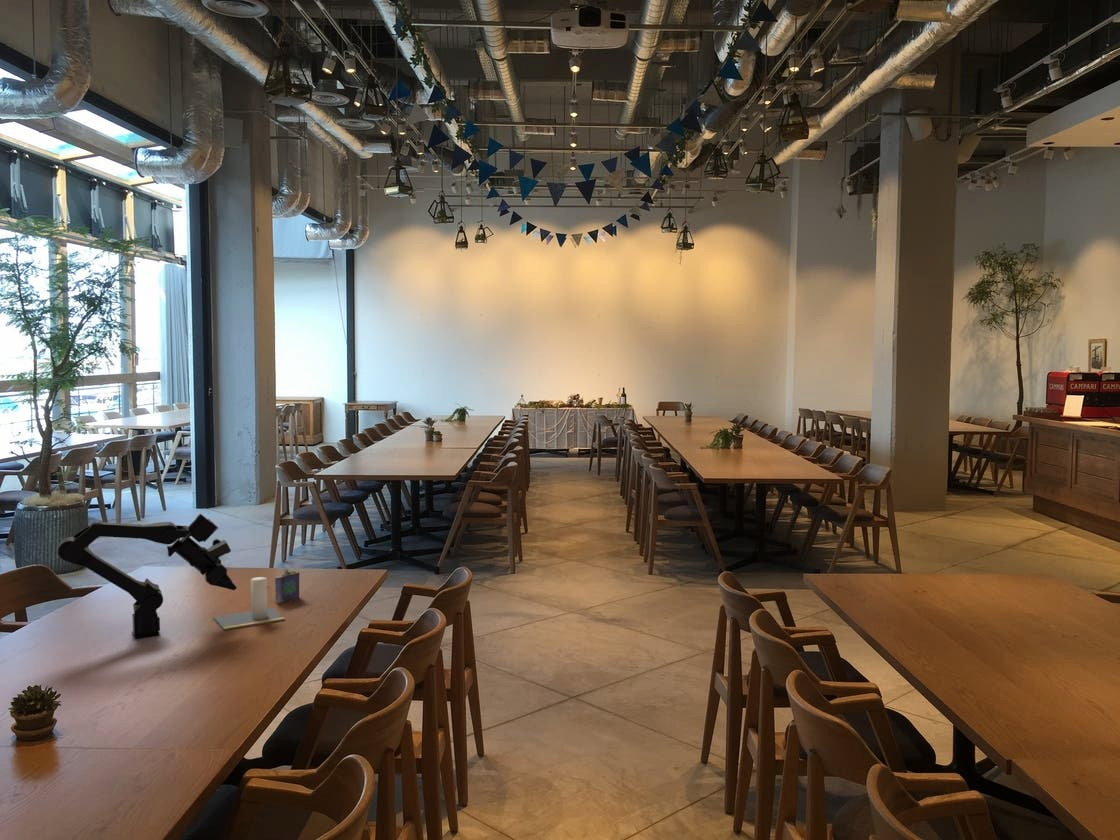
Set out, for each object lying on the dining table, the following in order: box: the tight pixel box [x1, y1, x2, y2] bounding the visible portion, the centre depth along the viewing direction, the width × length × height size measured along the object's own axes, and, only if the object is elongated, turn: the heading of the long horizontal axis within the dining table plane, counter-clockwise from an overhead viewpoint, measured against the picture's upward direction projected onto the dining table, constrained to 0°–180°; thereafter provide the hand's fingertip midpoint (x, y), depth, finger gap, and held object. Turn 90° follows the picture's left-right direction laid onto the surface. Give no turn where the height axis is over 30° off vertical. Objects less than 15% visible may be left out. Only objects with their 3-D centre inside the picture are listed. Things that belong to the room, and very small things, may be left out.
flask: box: [274, 568, 300, 605], centre depth 289 cm, size 9×3×11 cm, turn 146°
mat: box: [213, 607, 286, 631], centre depth 269 cm, size 18×14×1 cm
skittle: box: [250, 576, 268, 619], centre depth 270 cm, size 5×5×12 cm
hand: (233, 585), depth 266 cm, fingers open, 9 cm apart
